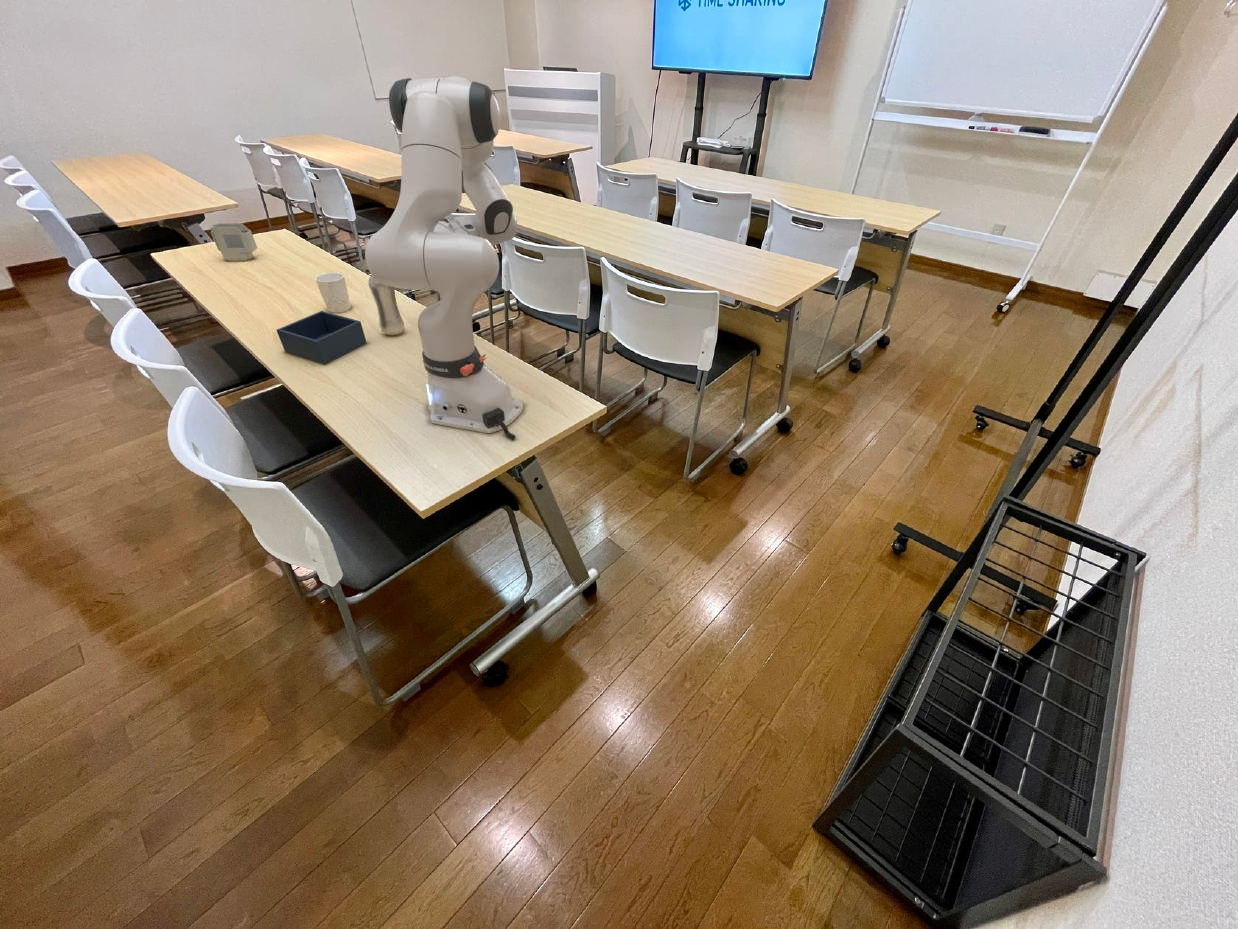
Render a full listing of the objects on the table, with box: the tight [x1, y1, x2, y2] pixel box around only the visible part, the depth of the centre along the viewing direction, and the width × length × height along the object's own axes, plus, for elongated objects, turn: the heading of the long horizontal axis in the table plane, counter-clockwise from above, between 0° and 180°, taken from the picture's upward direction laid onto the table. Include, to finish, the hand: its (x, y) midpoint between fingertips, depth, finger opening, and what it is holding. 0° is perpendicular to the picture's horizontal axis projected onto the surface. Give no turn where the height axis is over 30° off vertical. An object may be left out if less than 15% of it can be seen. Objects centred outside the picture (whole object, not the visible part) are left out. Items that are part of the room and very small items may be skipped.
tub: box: [275, 310, 368, 366], centre depth 141 cm, size 15×15×7 cm
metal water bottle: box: [367, 274, 405, 336], centre depth 146 cm, size 6×7×20 cm
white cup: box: [315, 272, 352, 314], centre depth 161 cm, size 8×8×10 cm
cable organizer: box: [209, 222, 258, 262], centre depth 192 cm, size 7×12×12 cm, turn 102°
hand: (416, 241), depth 143 cm, fingers open, 8 cm apart
